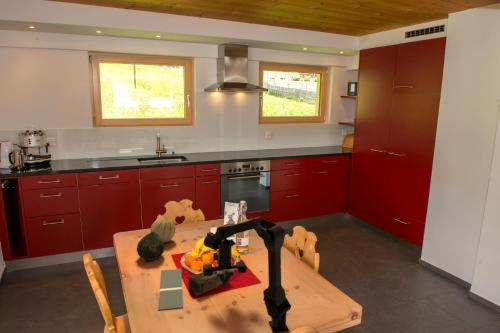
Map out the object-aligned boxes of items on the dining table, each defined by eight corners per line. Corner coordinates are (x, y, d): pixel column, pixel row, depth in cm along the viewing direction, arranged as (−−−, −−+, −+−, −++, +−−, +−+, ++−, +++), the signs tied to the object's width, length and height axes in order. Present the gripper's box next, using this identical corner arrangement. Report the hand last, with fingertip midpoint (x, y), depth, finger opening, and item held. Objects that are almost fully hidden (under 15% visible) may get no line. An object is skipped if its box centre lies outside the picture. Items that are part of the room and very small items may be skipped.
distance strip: (182, 307, 143) (182, 306, 143) (158, 310, 141) (158, 309, 140) (181, 269, 175) (181, 268, 175) (161, 271, 173) (161, 270, 173)
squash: (130, 255, 177) (150, 233, 178) (132, 245, 192) (150, 224, 193) (152, 270, 182) (171, 248, 183) (152, 259, 196) (170, 239, 197)
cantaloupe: (145, 244, 205) (145, 220, 202) (159, 235, 219) (158, 213, 216) (167, 248, 201) (167, 223, 198) (179, 238, 214) (179, 216, 212)
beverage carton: (229, 282, 164) (230, 270, 163) (197, 297, 151) (196, 283, 150) (219, 276, 170) (219, 264, 169) (187, 289, 157) (186, 276, 156)
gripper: (242, 244, 155) (241, 275, 158) (201, 246, 151) (201, 279, 154) (247, 254, 145) (246, 288, 148) (203, 257, 141) (203, 292, 144)
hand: (224, 286), depth 149 cm, fingers closed
